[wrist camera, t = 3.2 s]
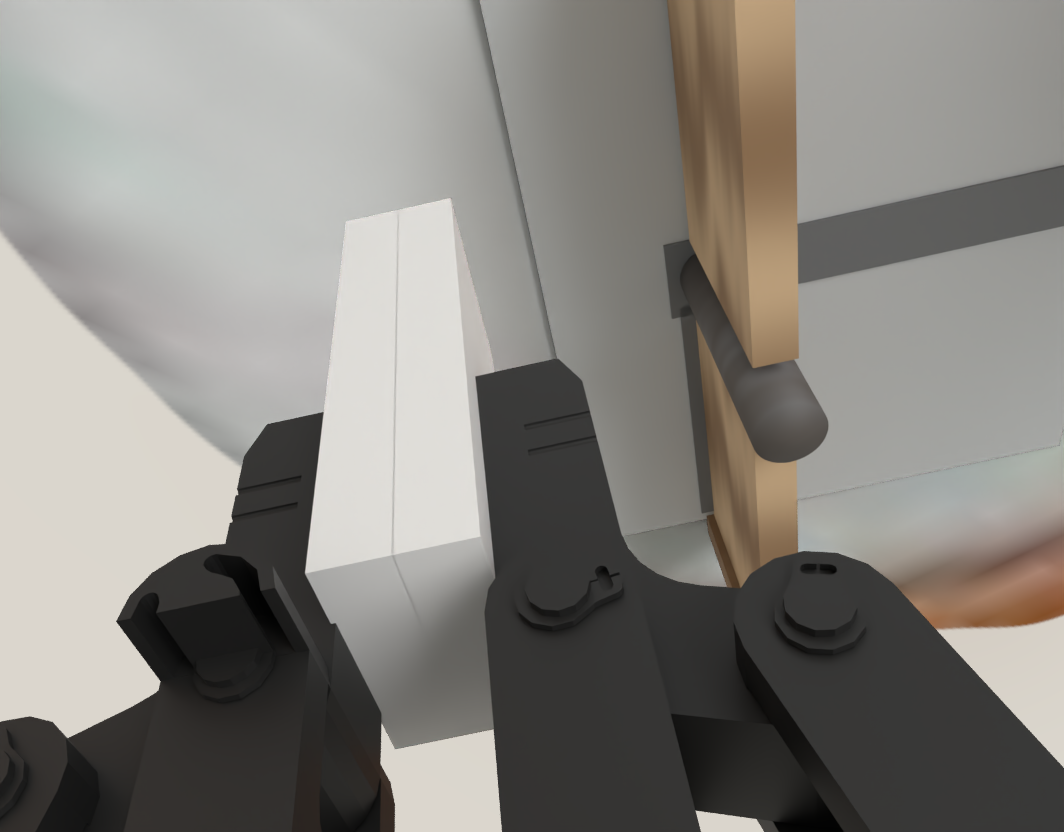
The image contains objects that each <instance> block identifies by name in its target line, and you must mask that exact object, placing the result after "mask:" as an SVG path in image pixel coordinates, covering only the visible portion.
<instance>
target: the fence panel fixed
mask: <svg viewBox="0 0 1064 832" xmlns="http://www.w3.org/2000/svg"><path fill="white" fill-rule="evenodd" d="M680 284H681V287H682V289H683V292H684V294H685V296H686V298H687V301H688V303H689V305H690V307H691V310H692V312H693V314H694V316H695V319H696V326H697V337H698V347H699V358H700V368H701V379H702V389H703V400H704V410H705V421H706V432H707V442H708V453H709V463H710V474H711V484H712V495H713V505H714V514H712V515H707V525H708V533H709V536H710V539H711V542H712V545H713V547H714V550H715V553H716V556H717V559H718V562H719V565H720V568H721V570H722V573H723V576H724V579H725V582H726V585H727V587H730V588H741V587H742V586H743V584H744V583H745V581H746V580H747V578H748V577H749V575H750V574H751V573H752V572H754V571H755V570H757V569H759V568H760V567H762V566H763V565H765V564H766V563H768V562H769V561H771V560H772V559H774V558H778V557H782V556H786V555H790V554H795V553H798V528H797V460H799V459H801V458H804V457H806V456H807V455H809V454H811V453H812V452H813V451H815V450H816V449H817V448H818V447H819V446H820V445H821V443H822V442H823V441H824V439H825V437H826V435H827V432H828V426H829V425H828V419H827V417H826V415H825V413H824V411H823V409H822V407H821V406H820V404H819V402H818V400H817V399H816V397H815V395H814V393H813V392H812V390H811V388H810V386H809V385H808V383H807V381H806V379H805V378H804V376H803V374H802V372H801V370H800V369H799V367H798V365H797V363H796V362H795V360H789V361H785V362H780V363H775V364H771V365H766V366H761V367H757V368H752V366H751V364H750V362H749V360H748V357H747V355H746V353H745V351H744V349H743V347H742V345H741V343H740V341H739V339H738V337H737V335H736V333H735V331H734V329H733V327H732V325H731V323H730V321H729V319H728V317H727V315H726V313H725V311H724V309H723V307H722V305H721V303H720V301H719V299H718V297H717V295H716V293H715V291H714V289H713V287H712V285H711V283H710V281H709V279H708V277H707V275H706V273H705V271H704V269H703V267H702V265H701V263H700V261H699V259H698V257H697V255H696V254H694V255H693V256H692V257H690V258H689V259H688V260H687V262H686V263H685V264H684V266H683V268H682V271H681V274H680Z"/></svg>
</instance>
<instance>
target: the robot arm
mask: <svg viewBox="0 0 1064 832" xmlns="http://www.w3.org/2000/svg"><path fill="white" fill-rule="evenodd" d="M237 490H238V495H236V497H235V502H234V506H233V511H232V520H233V522H232V523H230V525H229V530H228V535H227V539H226V544H221V545H220V544H219V545H208V546H206V547H203V548H200V549H197V550H194V551H191V552H188V553H186V554H183V555H180V556H178V557H177V558H175V559H173V560H172V561H171V562H169V563H167V564H166V565H164V566H163V567H161V568H159V569H158V570H156V571H155V572H153V573H152V574H151V575H150V576H149V577H148V578H147V579H146V580H145V581H144V582H143V583H142V584H141V585H140V586H139V587H138V588H137V589H136V590H135V591H134V592H133V593H132V594H131V595H130V596H129V599H128V600H127V602H126V604H125V606H124V608H123V609H122V612H121V613H120V615H119V617H118V619H117V621H116V622H117V623H118V624H119V626H120V627H121V628H122V630H123V631H124V633H125V634H126V635H127V637H128V638H129V639H130V641H131V642H132V643H133V645H134V646H135V647H136V649H137V650H138V651H139V653H140V654H141V655H142V657H143V658H144V659H145V661H146V662H147V664H148V665H149V666H150V668H151V669H152V670H153V672H154V673H155V674H156V676H157V677H158V678H159V680H160V681H161V682H160V686H159V691H157V692H156V693H155V694H153V695H151V696H150V697H149V698H146V699H145V700H143V701H142V702H140V703H138V704H136V705H134V706H133V707H131V708H129V709H127V710H125V711H123V712H121V713H119V714H117V715H115V716H112V717H110V718H108V719H106V720H104V721H102V722H100V723H98V724H96V725H94V726H92V727H90V728H88V729H86V730H84V731H82V732H80V733H78V734H76V735H74V736H72V737H69V738H67V737H66V736H65V735H64V734H63V733H62V732H61V731H60V730H59V729H58V728H57V726H56V725H55V724H54V723H53V722H50V721H46V720H42V719H38V718H34V717H24V718H19V719H13V720H7V721H2V722H0V832H394V831H395V803H394V798H393V793H392V788H391V783H390V781H389V779H388V777H387V776H386V774H385V772H384V770H383V768H382V766H381V764H380V757H381V755H380V754H381V722H382V724H383V726H384V728H385V730H386V732H387V734H388V736H389V738H390V740H391V742H392V744H393V746H394V748H395V749H398V748H404V747H408V746H414V745H418V744H423V743H428V742H433V741H438V740H443V739H448V738H453V737H457V736H463V735H467V734H472V733H477V732H482V731H487V730H492V729H494V738H495V750H496V763H497V775H498V788H499V800H500V812H501V824H502V832H701V831H700V827H699V823H698V819H697V815H696V811H704V812H710V813H718V814H725V815H733V816H740V817H746V818H754V819H757V820H758V822H759V824H760V825H761V827H762V829H763V831H764V832H1064V768H1063V767H1062V765H1061V764H1060V763H1059V762H1057V760H1056V759H1055V758H1054V757H1053V756H1052V755H1051V754H1050V753H1049V752H1048V750H1047V749H1046V748H1045V747H1044V746H1043V745H1042V744H1041V743H1040V742H1039V741H1038V740H1037V738H1036V737H1035V736H1034V735H1033V734H1032V733H1031V732H1030V731H1029V730H1028V729H1027V728H1026V727H1025V725H1023V723H1022V722H1021V721H1020V720H1019V719H1018V718H1017V717H1016V716H1015V715H1014V714H1013V713H1012V712H1011V710H1010V709H1009V708H1008V707H1007V706H1006V705H1005V704H1004V703H1003V702H1002V701H1001V700H1000V698H999V697H998V696H997V695H996V694H995V693H994V692H993V691H992V690H991V689H990V688H989V687H988V685H987V684H986V683H985V682H984V681H983V680H982V679H981V678H980V677H979V676H978V675H977V674H976V672H975V671H974V670H973V669H972V668H971V667H970V666H969V665H968V664H967V663H966V662H965V661H964V660H963V658H962V657H961V656H960V655H959V654H958V653H957V652H956V651H955V650H954V649H953V648H952V647H951V645H950V644H949V643H948V642H947V641H946V640H945V639H944V638H943V637H942V636H941V635H940V634H939V632H938V631H937V630H936V629H935V628H934V627H933V626H932V625H931V624H930V623H929V622H928V621H927V619H926V618H925V617H924V616H923V615H922V614H921V613H920V612H919V611H918V610H917V609H916V608H915V607H914V605H913V604H912V603H911V602H910V601H909V600H908V599H907V598H906V597H905V596H904V595H903V594H902V592H901V591H900V590H899V589H898V588H897V587H896V586H895V585H894V584H893V583H892V582H891V581H889V580H888V579H887V578H885V577H884V576H883V575H882V574H880V573H879V572H878V571H876V570H875V569H874V568H872V567H871V566H870V565H868V564H866V563H864V562H861V561H858V560H855V559H852V558H849V557H846V556H844V555H841V554H838V553H827V552H809V551H803V552H799V553H795V554H790V555H786V556H782V557H778V558H774V559H772V560H771V561H769V562H768V563H766V564H765V565H763V566H762V567H760V568H759V569H757V570H755V571H754V572H752V573H751V574H750V575H749V577H748V578H747V580H746V581H745V583H744V584H743V586H742V587H741V588H730V587H715V586H701V585H695V584H688V583H682V582H677V581H674V580H672V579H669V578H667V577H664V576H661V575H659V574H656V573H655V572H654V571H652V570H651V569H649V568H648V567H646V566H645V565H643V564H642V563H640V562H639V561H638V560H637V558H636V557H635V556H634V555H633V554H632V553H631V552H630V550H629V549H628V547H627V545H626V543H625V541H624V538H623V536H622V534H621V530H620V526H619V522H618V519H617V515H616V511H615V507H614V503H613V499H612V495H611V491H610V487H609V483H608V479H607V476H606V472H605V468H604V464H603V460H602V456H601V452H600V448H599V444H598V441H597V437H596V433H595V429H594V425H593V421H592V417H591V414H590V409H589V405H588V401H587V397H586V393H585V389H584V386H583V382H582V380H581V379H580V378H579V377H578V376H577V375H576V374H575V373H573V372H572V371H571V370H570V369H569V368H568V367H567V366H566V365H565V364H564V363H563V362H562V361H560V360H559V359H553V360H549V361H544V362H539V363H535V364H530V365H526V366H521V367H516V368H512V369H507V370H502V371H498V372H494V366H493V358H492V353H491V349H490V345H489V342H488V338H487V334H486V330H485V326H484V323H483V319H482V315H481V311H480V307H479V303H478V300H477V296H476V292H475V288H474V284H473V281H472V277H471V273H470V269H469V265H468V261H467V258H466V254H465V250H464V246H463V242H462V239H461V235H460V231H459V227H458V223H457V220H456V216H455V212H454V208H453V204H452V200H451V198H448V199H444V200H439V201H435V202H430V203H426V204H421V205H417V206H412V207H408V208H403V209H399V210H394V211H390V212H385V213H381V214H376V215H372V216H367V217H363V218H358V219H354V220H350V221H346V226H345V234H344V243H343V252H342V260H341V269H340V277H339V286H338V294H337V303H336V312H335V320H334V329H333V337H332V346H331V355H330V363H329V372H328V380H327V389H326V398H325V406H324V412H322V413H317V414H313V415H308V416H303V417H299V418H294V419H290V420H285V421H280V422H276V423H271V424H267V425H266V427H265V428H264V430H263V431H262V432H261V434H260V435H259V436H258V438H257V439H256V441H255V442H254V443H253V445H252V446H251V448H250V449H249V450H248V452H247V453H246V455H245V456H244V460H243V464H242V469H241V474H240V478H239V483H238V488H237ZM695 810H696V811H695Z"/></svg>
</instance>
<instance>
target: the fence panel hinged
mask: <svg viewBox="0 0 1064 832" xmlns="http://www.w3.org/2000/svg"><path fill="white" fill-rule="evenodd" d="M667 7H668V17H669V28H670V39H671V49H672V60H673V70H674V81H675V92H676V102H677V113H678V124H679V134H680V145H681V156H682V166H683V177H684V188H685V198H686V209H687V220H688V230H689V241H690V243H691V245H692V247H693V249H694V251H695V253H696V255H697V257H698V259H699V261H700V263H701V265H702V267H703V269H704V271H705V273H706V275H707V277H708V279H709V281H710V283H711V285H712V287H713V289H714V291H715V293H716V295H717V297H718V299H719V301H720V303H721V305H722V307H723V309H724V311H725V313H726V315H727V317H728V319H729V321H730V323H731V325H732V327H733V329H734V331H735V333H736V335H737V337H738V339H739V341H740V343H741V345H742V347H743V349H744V351H745V353H746V355H747V357H748V360H749V362H750V364H751V366H752V368H757V367H761V366H766V365H771V364H775V363H780V362H785V361H789V360H794V359H799V324H798V229H797V133H796V38H795V0H667Z"/></svg>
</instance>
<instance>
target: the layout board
mask: <svg viewBox="0 0 1064 832" xmlns="http://www.w3.org/2000/svg"><path fill="white" fill-rule="evenodd" d="M480 5H481V9H482V14H483V19H484V23H485V28H486V32H487V37H488V42H489V46H490V51H491V56H492V60H493V65H494V70H495V74H496V79H497V83H498V88H499V93H500V97H501V102H502V107H503V111H504V116H505V121H506V125H507V130H508V134H509V139H510V144H511V148H512V153H513V158H514V162H515V167H516V171H517V176H518V181H519V185H520V190H521V195H522V199H523V204H524V209H525V213H526V218H527V222H528V227H529V232H530V236H531V241H532V246H533V250H534V255H535V260H536V264H537V269H538V273H539V278H540V283H541V287H542V292H543V297H544V301H545V306H546V311H547V315H548V320H549V324H550V329H551V334H552V338H553V343H554V348H555V352H556V357H557V359H559V360H560V361H562V362H563V363H564V364H565V365H566V366H567V367H568V368H569V369H570V370H571V371H572V372H573V373H575V374H576V375H577V376H578V377H579V378H580V379H581V380H582V382H583V386H584V389H585V393H586V397H587V401H588V405H589V409H590V414H591V417H592V421H593V425H594V429H595V433H596V437H597V441H598V444H599V448H600V452H601V456H602V460H603V464H604V468H605V472H606V476H607V479H608V483H609V487H610V491H611V495H612V499H613V503H614V507H615V511H616V515H617V519H618V522H619V526H620V530H621V534H622V536H628V535H633V534H637V533H642V532H647V531H652V530H656V529H661V528H666V527H671V526H676V525H680V524H685V523H690V522H695V521H700V520H704V519H707V515H712V514H714V505H713V495H712V484H711V474H710V463H709V453H708V442H707V432H706V421H705V410H704V400H703V389H702V379H701V368H700V358H699V347H698V337H697V326H696V319H695V316H694V314H693V312H692V310H691V307H690V305H689V303H688V301H687V298H686V296H685V294H684V292H683V289H682V287H681V284H680V274H681V271H682V268H683V266H684V264H685V263H686V262H687V260H688V259H689V258H690V257H692V256H693V255H694V254H696V253H695V251H694V249H693V247H692V245H691V243H690V241H689V230H688V220H687V209H686V198H685V188H684V177H683V166H682V156H681V145H680V134H679V124H678V113H677V102H676V92H675V81H674V70H673V60H672V49H671V39H670V28H669V17H668V7H667V0H480ZM795 38H796V133H797V229H798V324H799V359H794V360H795V362H796V363H797V365H798V367H799V369H800V370H801V372H802V374H803V376H804V378H805V379H806V381H807V383H808V385H809V386H810V388H811V390H812V392H813V393H814V395H815V397H816V399H817V400H818V402H819V404H820V406H821V407H822V409H823V411H824V413H825V415H826V417H827V419H828V425H829V426H828V432H827V435H826V437H825V439H824V441H823V442H822V443H821V445H820V446H819V447H818V448H817V449H816V450H815V451H813V452H812V453H811V454H809V455H807V456H806V457H804V458H801V459H799V460H797V500H800V499H805V498H810V497H815V496H820V495H824V494H829V493H834V492H839V491H844V490H848V489H853V488H858V487H863V486H868V485H872V484H877V483H882V482H887V481H892V480H896V479H901V478H906V477H911V476H916V475H920V474H925V473H930V472H935V471H940V470H944V469H949V468H954V467H959V466H963V465H968V464H973V463H978V462H983V461H987V460H992V459H997V458H1002V457H1007V456H1011V455H1016V454H1021V453H1026V452H1031V451H1035V450H1040V449H1045V448H1050V447H1055V446H1059V445H1060V442H1061V437H1062V433H1063V429H1064V0H795Z"/></svg>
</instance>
